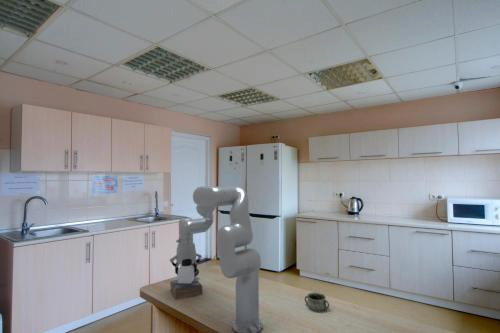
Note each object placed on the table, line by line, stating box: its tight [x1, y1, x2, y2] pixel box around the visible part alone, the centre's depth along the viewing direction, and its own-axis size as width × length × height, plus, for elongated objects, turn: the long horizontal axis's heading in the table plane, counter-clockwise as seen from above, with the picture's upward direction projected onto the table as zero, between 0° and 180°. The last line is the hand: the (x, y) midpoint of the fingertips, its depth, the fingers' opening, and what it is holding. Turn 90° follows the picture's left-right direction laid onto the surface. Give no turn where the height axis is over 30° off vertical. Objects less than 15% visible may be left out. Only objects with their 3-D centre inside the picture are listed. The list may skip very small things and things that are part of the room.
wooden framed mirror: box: [170, 277, 203, 300], centre depth 154 cm, size 14×14×5 cm
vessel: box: [304, 292, 330, 313], centre depth 133 cm, size 12×9×6 cm
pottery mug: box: [194, 268, 200, 278], centre depth 175 cm, size 12×9×8 cm
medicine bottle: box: [177, 259, 194, 283], centre depth 152 cm, size 7×7×12 cm
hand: (186, 272), depth 154 cm, fingers closed on medicine bottle, 9 cm apart
